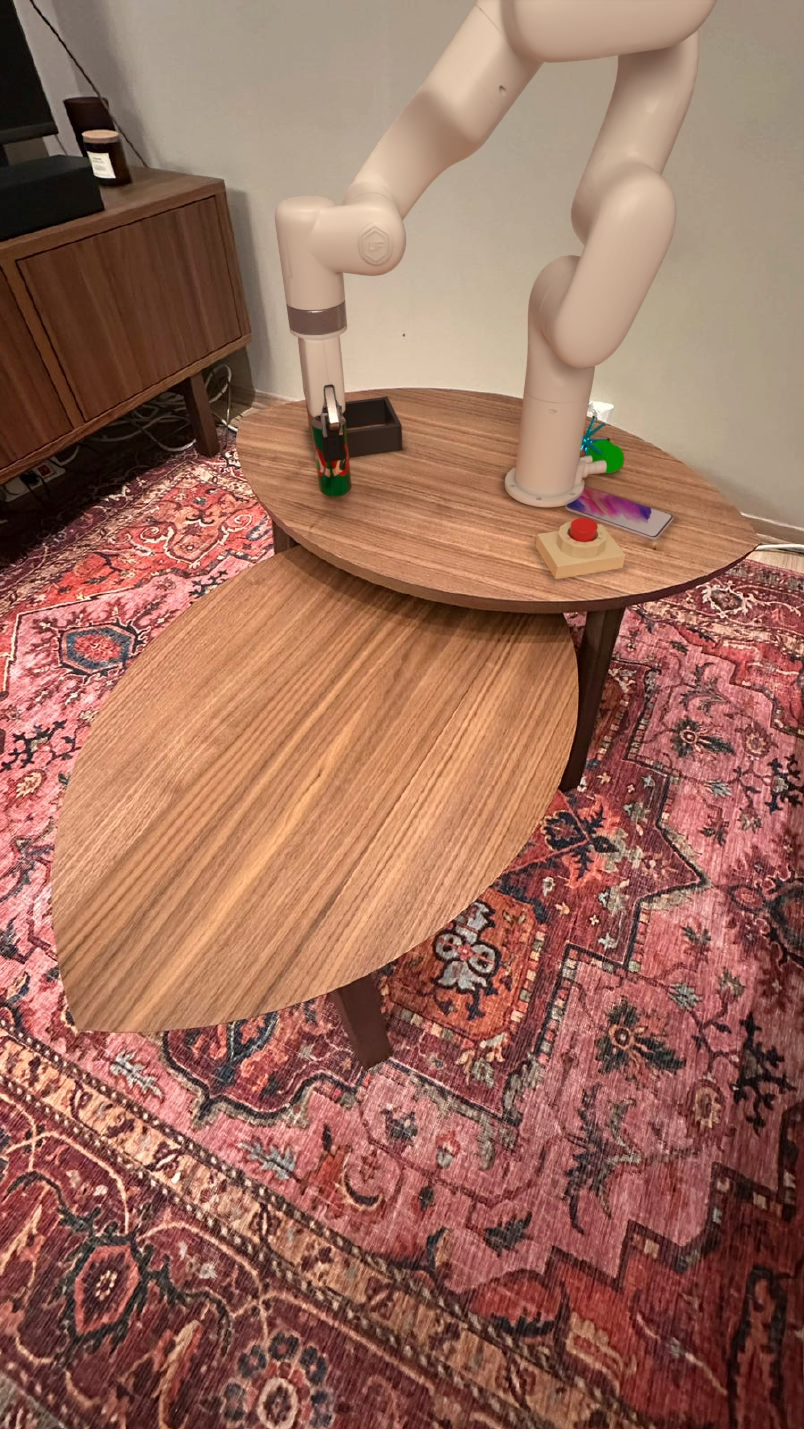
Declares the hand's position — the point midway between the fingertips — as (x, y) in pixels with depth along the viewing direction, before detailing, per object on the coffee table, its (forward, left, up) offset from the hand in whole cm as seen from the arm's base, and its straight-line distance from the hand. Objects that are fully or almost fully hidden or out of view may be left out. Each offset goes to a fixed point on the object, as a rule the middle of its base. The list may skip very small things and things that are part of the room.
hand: (331, 449), depth 102 cm
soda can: (0, 0, -7) cm, 7 cm away
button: (-31, +23, -6) cm, 39 cm away
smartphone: (-41, +14, -10) cm, 45 cm away
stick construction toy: (-44, -2, -9) cm, 45 cm away
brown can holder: (-6, -20, -9) cm, 23 cm away
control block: (-31, +23, -9) cm, 40 cm away
